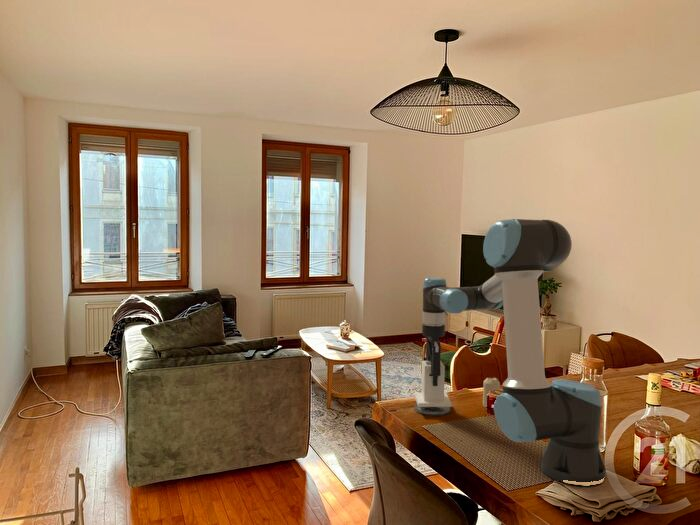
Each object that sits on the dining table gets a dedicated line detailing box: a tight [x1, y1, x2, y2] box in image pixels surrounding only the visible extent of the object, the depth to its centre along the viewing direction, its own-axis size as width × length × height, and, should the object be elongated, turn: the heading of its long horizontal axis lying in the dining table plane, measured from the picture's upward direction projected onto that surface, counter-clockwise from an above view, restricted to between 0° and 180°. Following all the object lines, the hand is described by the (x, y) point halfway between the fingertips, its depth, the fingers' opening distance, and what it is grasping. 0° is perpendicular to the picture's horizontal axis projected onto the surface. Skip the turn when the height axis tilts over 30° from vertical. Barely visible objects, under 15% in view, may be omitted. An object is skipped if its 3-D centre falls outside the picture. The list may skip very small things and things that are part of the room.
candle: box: [482, 377, 501, 409], centre depth 182 cm, size 6×6×10 cm
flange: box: [413, 360, 453, 408], centre depth 178 cm, size 11×11×13 cm
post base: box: [413, 402, 451, 417], centre depth 178 cm, size 12×12×8 cm
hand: (432, 391), depth 178 cm, fingers closed on flange, 7 cm apart
